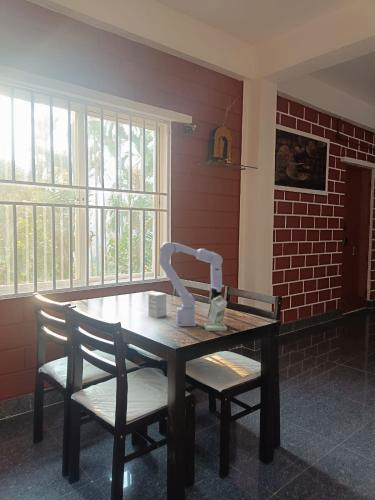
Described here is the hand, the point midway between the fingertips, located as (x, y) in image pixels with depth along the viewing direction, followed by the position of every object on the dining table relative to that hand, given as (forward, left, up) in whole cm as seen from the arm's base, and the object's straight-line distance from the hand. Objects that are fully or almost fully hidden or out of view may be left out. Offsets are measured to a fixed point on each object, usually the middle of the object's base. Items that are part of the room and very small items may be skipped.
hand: (216, 303), depth 188 cm
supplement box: (-30, +18, -11) cm, 37 cm away
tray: (-2, -7, -11) cm, 13 cm away
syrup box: (-1, +2, -9) cm, 9 cm away
